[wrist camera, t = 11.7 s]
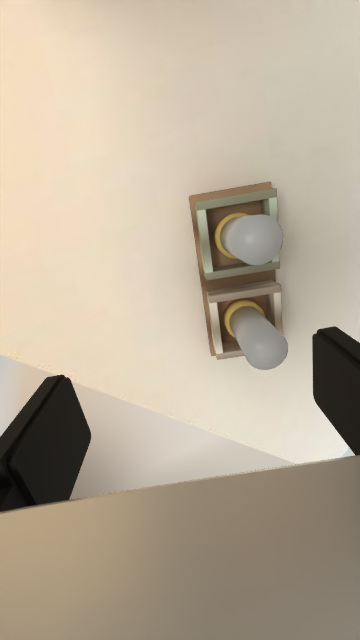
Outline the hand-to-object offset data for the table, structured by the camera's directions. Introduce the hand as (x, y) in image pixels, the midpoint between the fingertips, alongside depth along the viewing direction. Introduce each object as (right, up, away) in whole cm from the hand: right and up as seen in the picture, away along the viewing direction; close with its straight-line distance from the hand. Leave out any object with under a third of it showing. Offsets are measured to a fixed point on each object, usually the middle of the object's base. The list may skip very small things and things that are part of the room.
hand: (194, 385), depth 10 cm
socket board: (+7, +8, +25) cm, 27 cm away
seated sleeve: (+6, +12, +21) cm, 25 cm away
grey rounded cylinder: (+7, +3, +25) cm, 26 cm away
